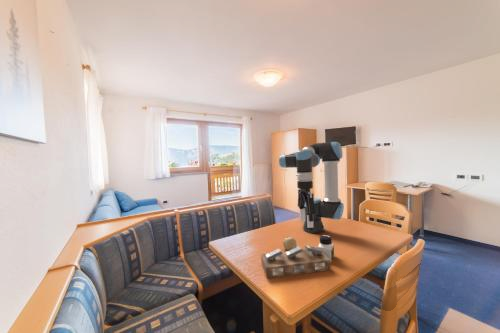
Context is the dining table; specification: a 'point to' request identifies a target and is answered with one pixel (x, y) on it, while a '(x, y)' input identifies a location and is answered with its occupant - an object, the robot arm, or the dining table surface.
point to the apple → (289, 243)
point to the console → (295, 264)
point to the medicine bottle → (327, 246)
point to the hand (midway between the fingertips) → (306, 224)
